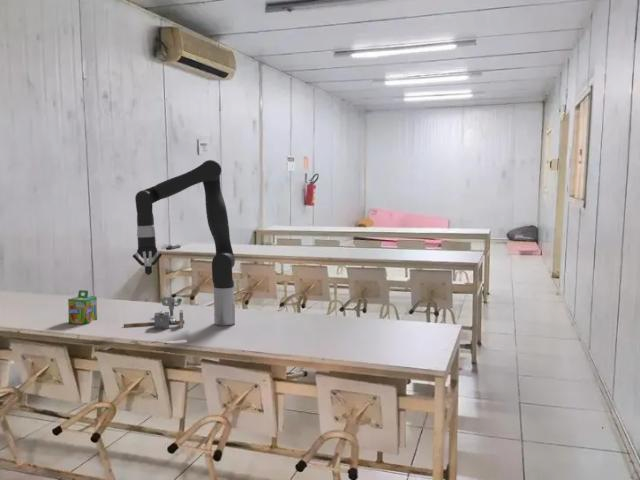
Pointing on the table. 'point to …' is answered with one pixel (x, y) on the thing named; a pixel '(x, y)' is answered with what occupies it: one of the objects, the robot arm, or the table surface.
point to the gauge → (162, 320)
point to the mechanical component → (170, 303)
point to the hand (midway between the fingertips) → (148, 274)
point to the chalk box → (82, 308)
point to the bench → (154, 322)
